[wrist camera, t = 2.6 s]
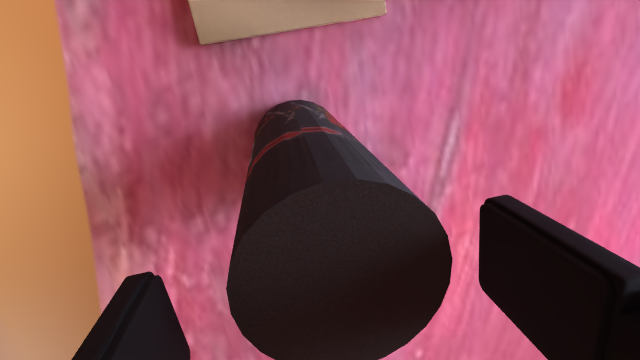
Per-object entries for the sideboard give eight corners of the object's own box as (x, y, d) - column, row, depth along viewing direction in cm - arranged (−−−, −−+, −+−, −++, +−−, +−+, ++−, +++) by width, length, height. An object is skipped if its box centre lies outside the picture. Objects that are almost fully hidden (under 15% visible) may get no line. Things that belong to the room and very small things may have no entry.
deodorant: (243, 110, 21) (193, 211, 7) (333, 91, 22) (448, 154, 8) (266, 193, 23) (259, 392, 10) (347, 174, 24) (455, 340, 10)
